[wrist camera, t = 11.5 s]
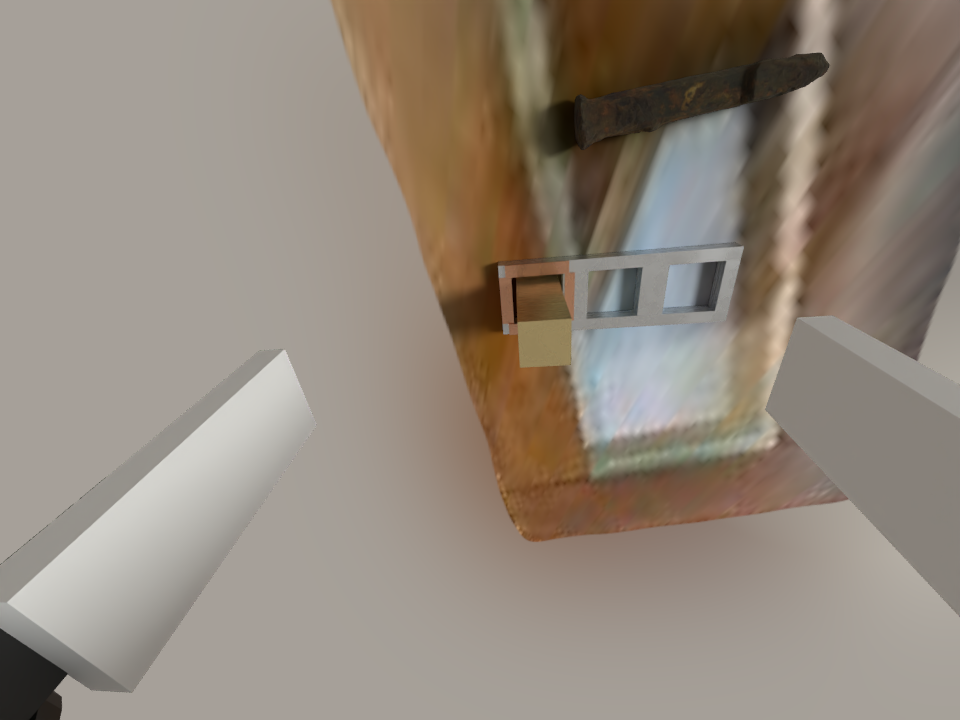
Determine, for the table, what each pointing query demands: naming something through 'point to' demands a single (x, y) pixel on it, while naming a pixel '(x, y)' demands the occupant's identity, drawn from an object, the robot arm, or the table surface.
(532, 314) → the brass post
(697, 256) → the triple square frame
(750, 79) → the hand tool
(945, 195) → the table surface
